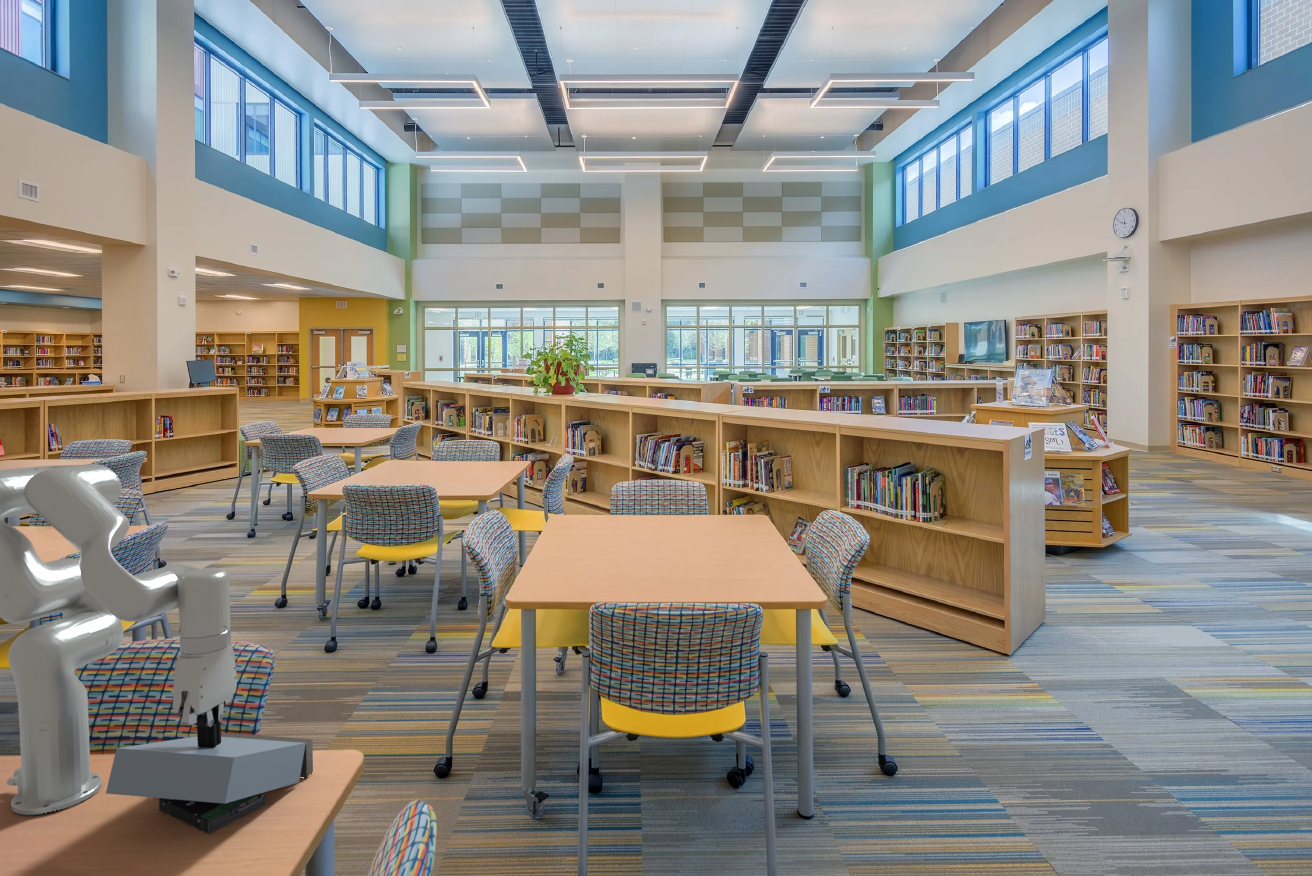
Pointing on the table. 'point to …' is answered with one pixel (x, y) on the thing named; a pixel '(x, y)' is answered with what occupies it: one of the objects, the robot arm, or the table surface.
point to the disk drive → (210, 811)
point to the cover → (205, 769)
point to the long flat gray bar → (308, 753)
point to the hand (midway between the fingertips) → (209, 745)
